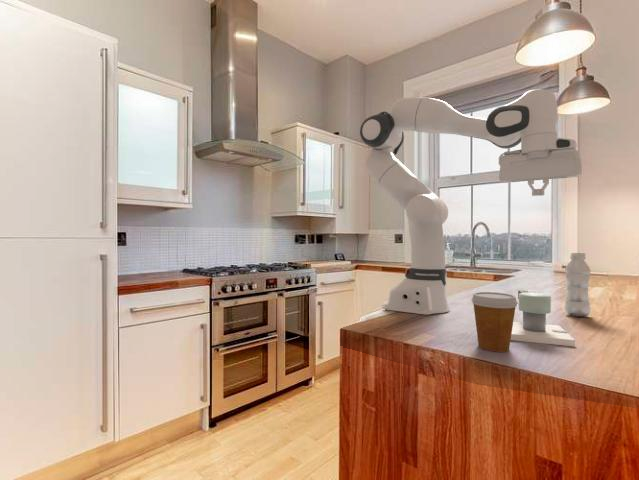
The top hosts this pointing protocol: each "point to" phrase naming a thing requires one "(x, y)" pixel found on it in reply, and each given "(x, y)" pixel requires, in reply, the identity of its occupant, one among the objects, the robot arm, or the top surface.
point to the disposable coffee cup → (494, 319)
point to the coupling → (534, 302)
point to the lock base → (540, 331)
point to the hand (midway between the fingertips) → (538, 195)
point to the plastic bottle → (577, 286)
